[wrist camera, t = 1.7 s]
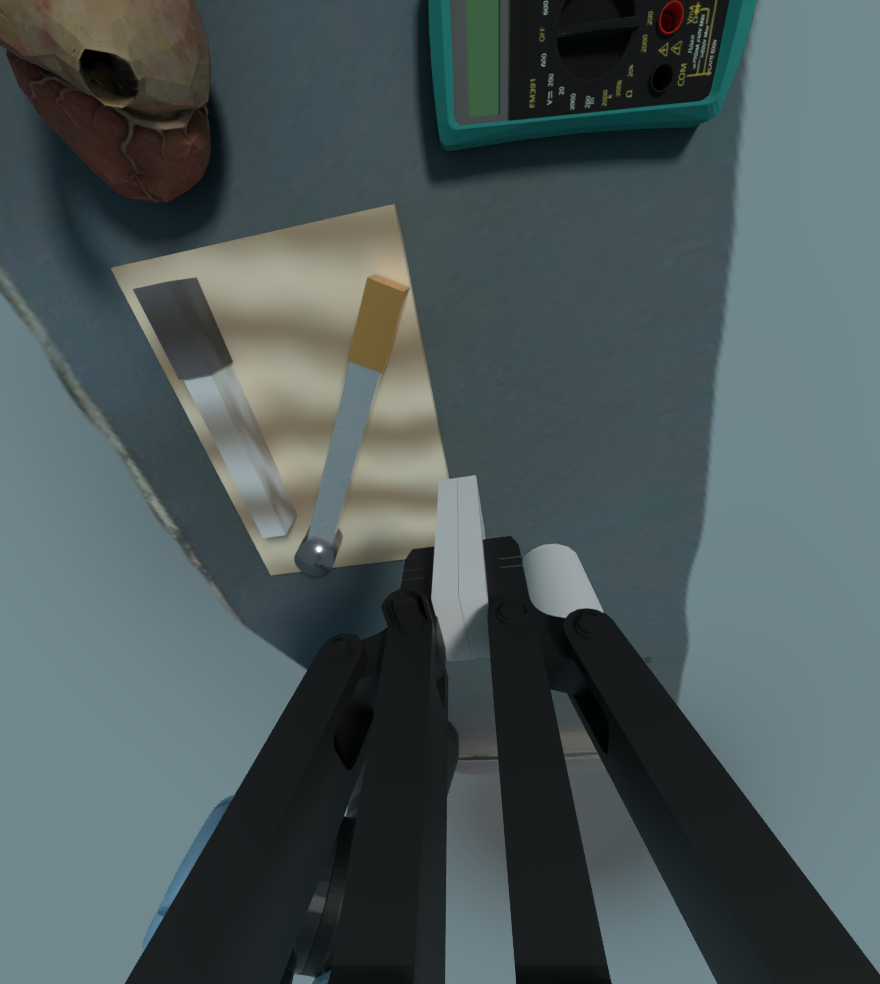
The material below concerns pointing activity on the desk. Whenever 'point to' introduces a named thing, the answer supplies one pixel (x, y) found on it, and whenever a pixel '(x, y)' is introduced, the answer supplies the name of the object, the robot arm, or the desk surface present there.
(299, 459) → the board
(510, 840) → the robot arm
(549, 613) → the white coffee cup
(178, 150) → the anatomical model
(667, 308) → the desk surface
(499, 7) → the digital multimeter
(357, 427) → the bar
